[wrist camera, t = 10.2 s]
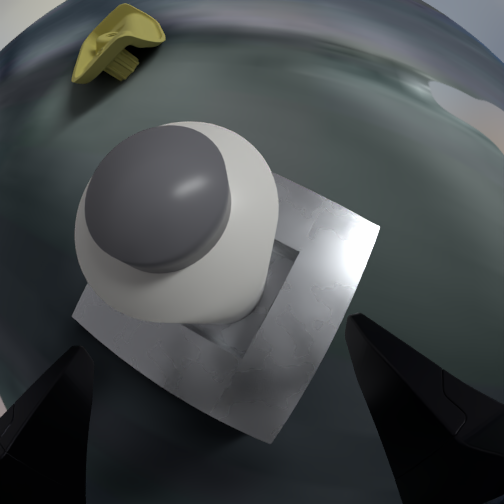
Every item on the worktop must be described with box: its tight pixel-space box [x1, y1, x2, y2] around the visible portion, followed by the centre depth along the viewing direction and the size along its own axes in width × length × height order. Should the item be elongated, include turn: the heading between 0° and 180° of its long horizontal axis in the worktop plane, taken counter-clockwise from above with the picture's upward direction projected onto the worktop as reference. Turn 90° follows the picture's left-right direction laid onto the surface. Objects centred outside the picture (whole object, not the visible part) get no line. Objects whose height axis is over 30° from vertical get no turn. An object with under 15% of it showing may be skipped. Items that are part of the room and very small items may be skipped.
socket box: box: [72, 172, 380, 444], centre depth 16 cm, size 14×14×4 cm
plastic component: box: [72, 4, 165, 84], centre depth 24 cm, size 20×7×10 cm
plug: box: [75, 121, 279, 324], centre depth 11 cm, size 5×5×12 cm
